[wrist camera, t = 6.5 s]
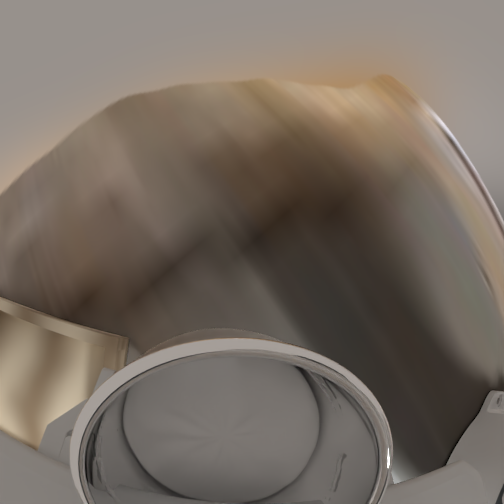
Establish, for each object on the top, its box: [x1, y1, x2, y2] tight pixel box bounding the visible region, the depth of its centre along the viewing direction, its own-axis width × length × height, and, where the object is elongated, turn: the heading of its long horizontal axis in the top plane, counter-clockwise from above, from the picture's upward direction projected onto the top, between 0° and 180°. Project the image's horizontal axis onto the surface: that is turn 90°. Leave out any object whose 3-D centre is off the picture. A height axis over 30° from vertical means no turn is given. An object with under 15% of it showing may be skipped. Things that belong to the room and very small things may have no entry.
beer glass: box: [69, 328, 393, 504], centre depth 11 cm, size 7×7×15 cm
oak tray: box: [0, 296, 129, 451], centre depth 13 cm, size 14×14×3 cm
